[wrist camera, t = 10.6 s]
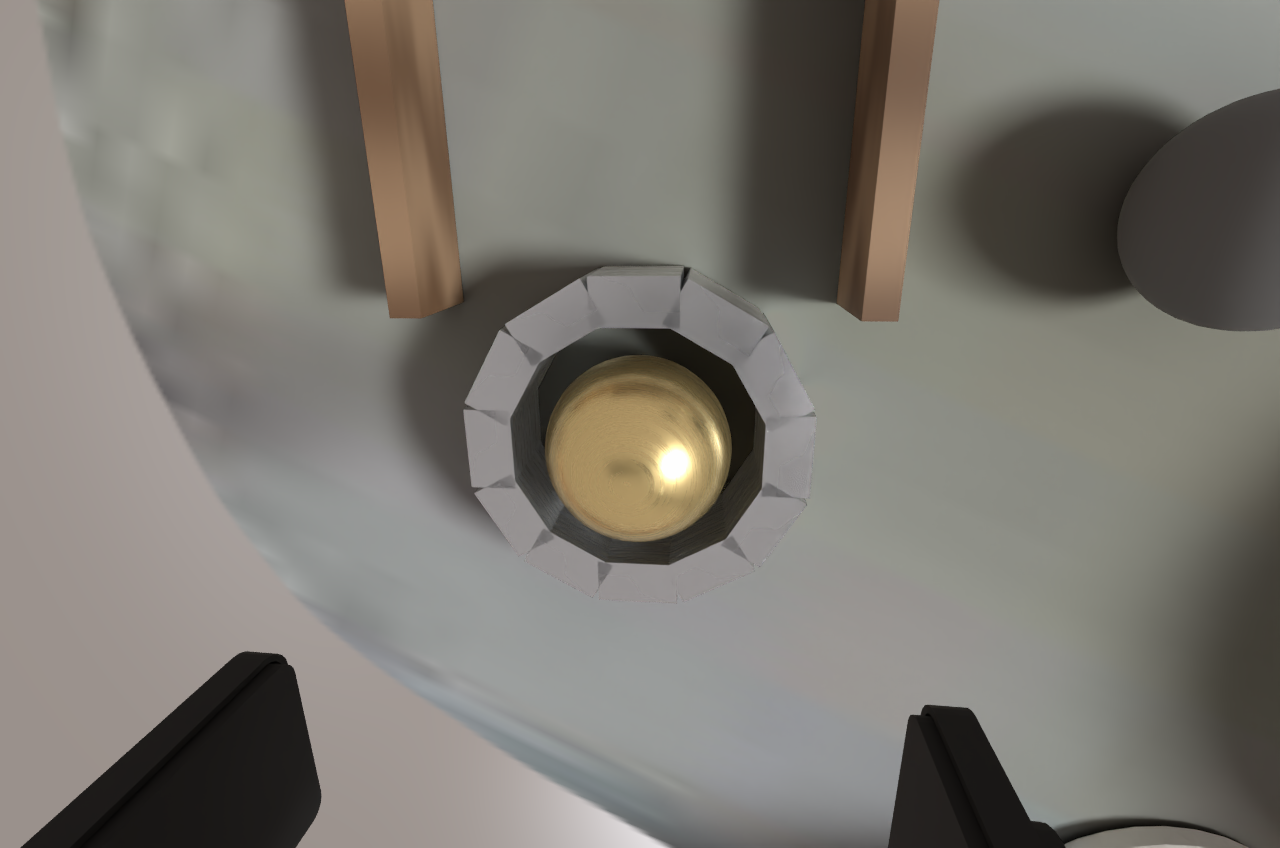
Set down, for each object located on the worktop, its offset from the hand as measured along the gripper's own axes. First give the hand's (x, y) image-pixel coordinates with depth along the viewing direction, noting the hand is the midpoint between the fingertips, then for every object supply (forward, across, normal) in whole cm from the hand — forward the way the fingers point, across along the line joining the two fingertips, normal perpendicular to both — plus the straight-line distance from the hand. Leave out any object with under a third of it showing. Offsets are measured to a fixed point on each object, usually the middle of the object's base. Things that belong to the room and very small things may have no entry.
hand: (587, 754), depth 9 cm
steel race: (+14, +1, -1) cm, 15 cm away
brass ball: (+12, +1, -1) cm, 12 cm away
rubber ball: (+12, -16, -8) cm, 21 cm away
